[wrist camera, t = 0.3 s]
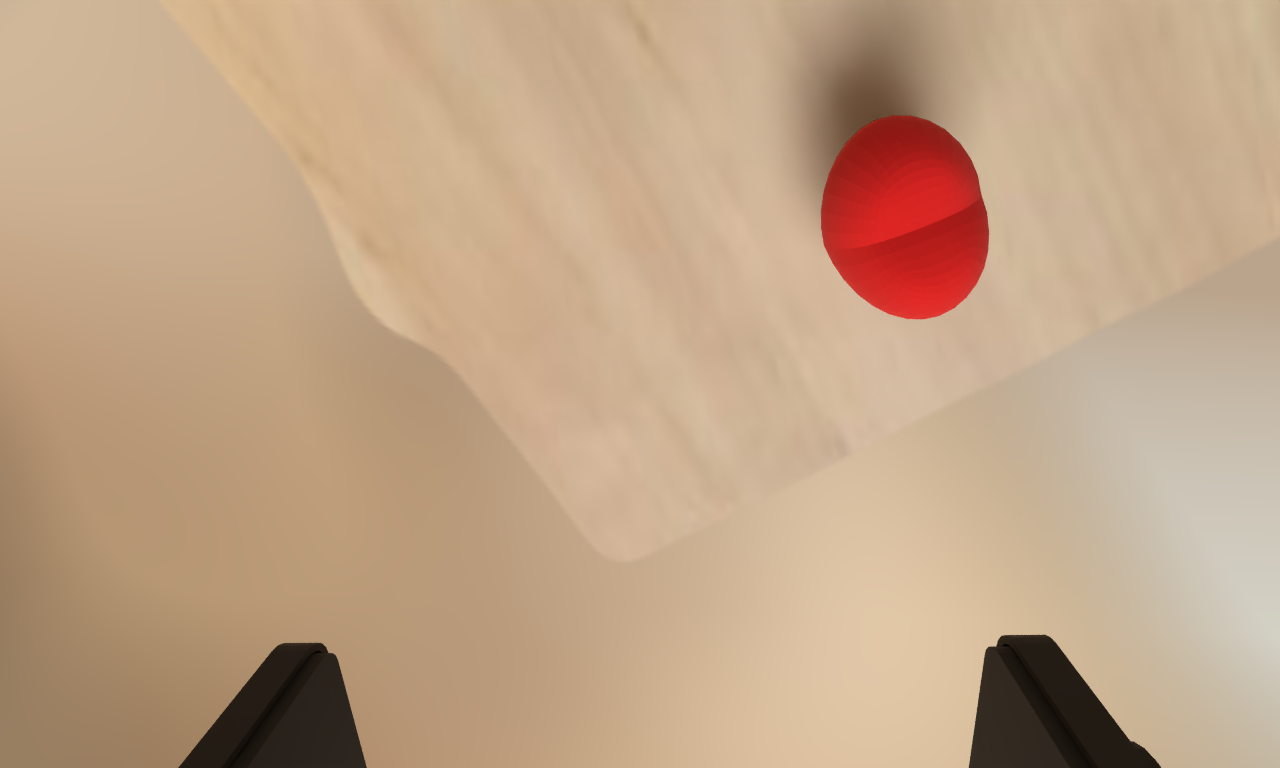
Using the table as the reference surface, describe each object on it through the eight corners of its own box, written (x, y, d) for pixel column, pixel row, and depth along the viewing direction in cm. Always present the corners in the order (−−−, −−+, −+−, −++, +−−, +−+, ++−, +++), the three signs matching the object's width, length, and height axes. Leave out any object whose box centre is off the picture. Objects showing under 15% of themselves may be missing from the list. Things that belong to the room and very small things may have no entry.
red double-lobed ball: (949, 262, 37) (1040, 300, 28) (829, 307, 39) (877, 359, 29) (905, 96, 35) (989, 78, 25) (777, 151, 36) (811, 153, 26)
